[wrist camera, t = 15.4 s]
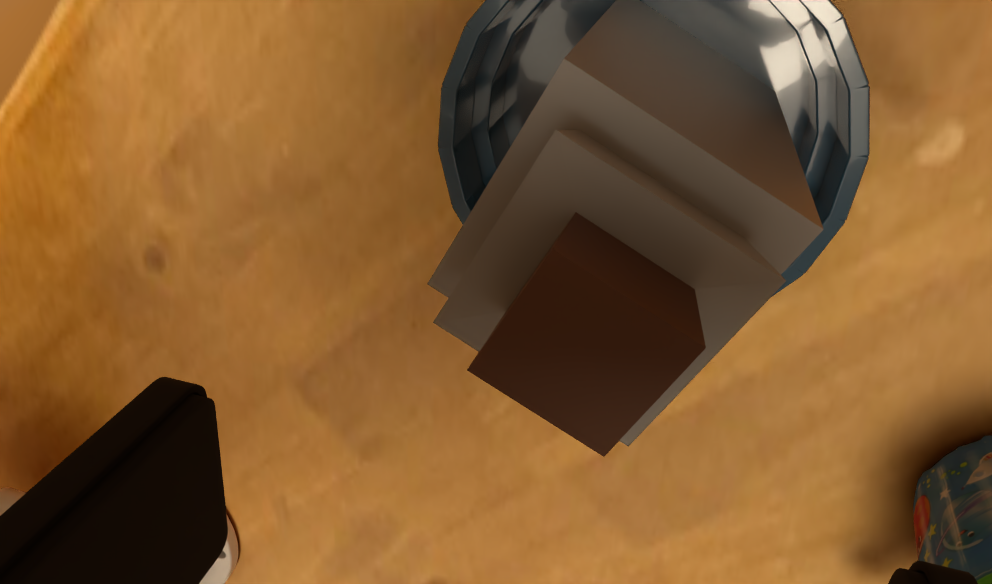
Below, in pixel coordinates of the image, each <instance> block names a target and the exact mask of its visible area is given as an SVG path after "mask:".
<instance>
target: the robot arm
mask: <svg viewBox="0 0 992 584" xmlns="http://www.w3.org/2000/svg"><path fill="white" fill-rule="evenodd" d="M237 560H238V542H237V538H236V534H235V531H234V528H233V526H232V524H231V522H230V520H229V518H228V516H227V514H226V506H225V496H224V486H223V477H222V467H221V458H220V448H219V438H218V429H217V419H216V410H215V404H214V401H213V400H212V399H210V398H207V394H206V391H205V389H204V388H203V387H202V386H200V385H197V384H193V383H189V382H185V381H180V380H176V379H172V378H168V377H161V378H159V379H157V380H155V381H154V382H153V383H152V384H150V385H149V386H148V387H147V388H146V389H145V390H144V391H142V392H141V393H140V394H139V395H138V396H137V397H136V398H134V399H133V400H132V401H131V402H130V403H129V404H127V405H126V406H125V407H124V408H123V409H122V410H121V411H119V412H118V413H117V414H116V415H115V416H114V417H113V418H111V419H110V420H109V421H108V422H107V423H106V424H105V425H103V426H102V427H101V428H100V429H99V430H98V431H97V432H95V433H94V434H93V435H92V436H91V437H90V438H89V439H87V440H86V441H85V442H84V443H83V444H82V445H81V446H79V447H78V448H77V449H76V450H75V451H74V452H73V453H71V454H70V455H69V456H68V457H67V458H66V459H65V460H63V461H62V462H61V463H60V464H59V465H58V466H57V467H55V468H54V469H53V470H52V471H51V472H50V473H48V474H47V475H46V476H45V477H44V478H43V479H42V480H40V481H39V482H38V483H37V484H36V485H35V486H34V487H32V488H31V489H30V490H29V491H28V492H23V491H20V490H16V489H13V488H9V487H5V488H1V489H0V584H224V583H225V582H226V581H227V580H228V578H229V577H230V575H231V574H232V572H233V570H234V569H235V567H236V564H237ZM888 584H978V583H977V581H976V579H975V577H974V576H973V575H971V574H970V573H969V572H965V571H961V570H957V569H953V568H949V567H945V566H941V565H937V564H932V563H928V562H924V561H916V562H915V563H913V564H912V566H911V567H910V568H909V570H907V569H902V568H899V569H897V570H896V571H895V572H894V574H893V575H892V577H891V579H890V581H889V583H888Z"/></svg>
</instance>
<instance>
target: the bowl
mask: <svg viewBox="0 0 992 584" xmlns="http://www.w3.org/2000/svg"><path fill="white" fill-rule="evenodd" d="M615 1H616V0H485V1H484V2H483V4H482V5H481V6H480V7H479V8H478V10H477V11H476V12H475V13H474V15H473V16H472V17H471V18H470V19H469V21H468V22H467V23H466V26H465V27H464V29H463V32H462V34H461V37H460V40H459V42H458V45H457V47H456V50H455V52H454V55H453V58H452V60H451V63H450V65H449V68H448V70H447V73H446V76H445V78H444V81H443V83H442V88H441V103H440V119H439V135H438V151H439V155H440V159H441V163H442V167H443V171H444V175H445V179H446V183H447V187H448V191H449V196H450V200H451V204H452V205H453V206H452V207H453V209H454V211H455V212H456V214H457V216H458V217H459V219H460V221H461V222H462V224H464V223H465V221H466V219H467V218H468V216H469V214H470V213H471V211H472V209H473V208H474V206H475V205H476V203H477V201H478V200H479V198H480V196H481V195H482V193H483V191H484V190H485V188H486V186H487V185H488V183H489V181H490V180H491V178H492V176H493V175H494V173H495V172H496V170H497V168H498V167H499V165H500V163H501V162H502V160H503V158H504V157H505V155H506V153H507V152H508V150H509V148H510V147H511V145H512V143H513V142H514V140H515V139H516V137H517V135H518V134H519V132H520V130H521V129H522V127H523V125H524V124H525V122H526V120H527V119H528V117H529V115H530V114H531V112H532V111H533V109H534V107H535V106H536V104H537V102H538V101H539V99H540V97H541V96H542V94H543V92H544V91H545V89H546V87H547V86H548V84H549V82H550V81H551V79H552V78H553V76H554V74H555V73H556V71H557V69H558V68H559V66H560V64H561V63H562V61H563V59H564V58H565V57H566V56H567V55H568V53H569V52H570V51H571V50H572V49H573V48H574V47H575V46H576V45H577V43H578V42H579V41H580V40H581V39H582V38H583V37H584V36H585V34H586V33H587V32H588V31H589V30H590V29H591V28H592V27H593V26H594V24H595V23H596V22H597V21H598V20H599V19H600V18H601V17H602V15H603V14H604V13H605V12H606V11H607V10H608V9H609V8H610V7H611V5H612V4H613V3H614V2H615ZM639 1H641V2H642V3H644V4H645V5H647V6H648V7H650V8H651V9H653V10H654V11H656V12H657V13H659V14H660V15H662V16H663V17H665V18H666V19H668V20H669V21H671V22H672V23H674V24H675V25H677V26H678V27H680V28H681V29H683V30H684V31H686V32H687V33H689V34H690V35H692V36H693V37H695V38H696V39H698V40H699V41H701V42H702V43H704V44H705V45H707V46H708V47H710V48H711V49H713V50H714V51H716V52H717V53H719V54H720V55H722V56H723V57H725V58H726V59H728V60H729V61H731V62H732V63H734V64H735V65H737V66H738V67H740V68H741V69H743V70H744V71H746V72H747V73H749V74H750V75H752V76H753V77H755V78H756V79H758V80H759V81H761V82H762V83H764V84H765V85H767V86H768V87H770V88H771V89H773V90H774V91H775V92H776V95H777V98H778V101H779V104H780V107H781V109H782V112H783V115H784V118H785V121H786V124H787V126H788V129H789V132H790V135H791V138H792V141H793V144H794V146H795V149H796V152H797V155H798V158H799V161H800V164H801V166H802V169H803V172H804V175H805V178H806V181H807V183H808V186H809V189H810V192H811V195H812V198H813V201H814V203H815V206H816V209H817V212H818V215H819V218H820V220H821V223H822V226H823V229H824V230H823V231H822V232H821V233H820V234H819V235H818V236H817V237H816V238H815V239H814V240H813V241H812V242H811V243H810V245H809V246H808V247H807V248H806V249H805V250H804V251H803V252H802V253H801V254H800V255H799V256H798V257H797V258H796V259H795V260H794V261H793V263H792V264H791V265H790V266H789V267H788V268H787V269H786V270H785V271H784V272H783V273H782V274H781V276H782V277H783V278H784V279H785V280H786V282H785V283H784V284H783V285H782V286H781V287H780V288H779V289H778V290H777V291H776V292H775V293H774V294H773V295H775V294H776V293H778V292H779V291H781V290H782V289H783V288H785V287H786V286H788V285H789V284H791V283H792V282H794V281H795V280H796V279H798V278H799V277H801V276H802V275H803V274H804V273H806V271H807V270H808V269H809V268H810V266H811V265H812V264H813V262H814V261H815V260H816V259H817V257H818V256H819V255H820V254H821V252H822V251H823V250H824V248H825V247H826V246H827V245H828V243H829V242H830V241H831V240H832V238H833V237H834V236H835V234H836V233H837V232H838V231H839V229H840V228H841V227H842V226H843V224H844V223H845V220H846V219H847V217H848V214H849V211H850V208H851V206H852V203H853V200H854V197H855V195H856V192H857V189H858V186H859V184H860V181H861V178H862V175H863V172H864V170H865V167H866V164H867V161H868V159H869V157H868V156H869V138H870V87H869V81H868V79H867V76H866V73H865V71H864V68H863V65H862V63H861V60H860V57H859V55H858V52H857V49H856V47H855V44H854V41H853V38H852V36H851V33H850V30H849V28H848V25H847V22H846V20H845V18H844V17H843V14H842V13H841V12H840V11H839V9H838V8H837V7H836V6H835V5H834V4H833V3H832V2H831V0H639ZM773 295H772V296H773ZM772 296H771V297H772ZM771 297H770V298H771Z"/></svg>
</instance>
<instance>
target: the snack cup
mask: <svg viewBox="0 0 992 584" xmlns="http://www.w3.org/2000/svg"><path fill="white" fill-rule="evenodd" d="M913 513H914V530H915V539H916V548H917V555H918V560H919V561H924V562H928V563H932V564H937V565H941V566H945V567H949V568H953V569H957V570H961V571H965V572H969V573H970V574H971V575H973V576H974V577H975V579H976V581H977V583H978V584H992V435H989V436H984V437H983V438H982V439H981V440H979V441H977V442H973V443H970V444H967V445H965V446H959V447H958V448H957V449H956V450H954V451H953V452H951V453H949V454H947V455H946V456H944V457H943V458H942V459H941V460H940V461H939V462H938V463H936V464H935V465H934V466H933V467H932V468H931V469H929V470H927V471H925V472H923V474H922V476H921V477H920V478H919V480H918V483H917V487H916V491H915V498H914V504H913Z"/></svg>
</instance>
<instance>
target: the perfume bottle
mask: <svg viewBox="0 0 992 584" xmlns="http://www.w3.org/2000/svg"><path fill="white" fill-rule="evenodd" d="M823 230H824V229H823V226H822V223H821V220H820V218H819V215H818V212H817V209H816V206H815V203H814V201H813V198H812V195H811V192H810V189H809V186H808V183H807V181H806V178H805V175H804V172H803V169H802V166H801V164H800V161H799V158H798V155H797V152H796V149H795V146H794V144H793V141H792V138H791V135H790V132H789V129H788V126H787V124H786V121H785V118H784V115H783V112H782V109H781V107H780V104H779V101H778V98H777V95H776V92H775V91H774V90H773V89H771V88H770V87H768V86H767V85H765V84H764V83H762V82H761V81H759V80H758V79H756V78H755V77H753V76H752V75H750V74H749V73H747V72H746V71H744V70H743V69H741V68H740V67H738V66H737V65H735V64H734V63H732V62H731V61H729V60H728V59H726V58H725V57H723V56H722V55H720V54H719V53H717V52H716V51H714V50H713V49H711V48H710V47H708V46H707V45H705V44H704V43H702V42H701V41H699V40H698V39H696V38H695V37H693V36H692V35H690V34H689V33H687V32H686V31H684V30H683V29H681V28H680V27H678V26H677V25H675V24H674V23H672V22H671V21H669V20H668V19H666V18H665V17H663V16H662V15H660V14H659V13H657V12H656V11H654V10H653V9H651V8H650V7H648V6H647V5H645V4H644V3H642V2H641V1H639V0H616V1H615V2H614V3H613V4H612V5H611V7H610V8H609V9H608V10H607V11H606V12H605V13H604V14H603V15H602V17H601V18H600V19H599V20H598V21H597V22H596V23H595V24H594V26H593V27H592V28H591V29H590V30H589V31H588V32H587V33H586V34H585V36H584V37H583V38H582V39H581V40H580V41H579V42H578V43H577V45H576V46H575V47H574V48H573V49H572V50H571V51H570V52H569V53H568V55H567V56H566V57H565V58H564V59H563V61H562V63H561V64H560V66H559V68H558V69H557V71H556V73H555V74H554V76H553V78H552V79H551V81H550V82H549V84H548V86H547V87H546V89H545V91H544V92H543V94H542V96H541V97H540V99H539V101H538V102H537V104H536V106H535V107H534V109H533V111H532V112H531V114H530V115H529V117H528V119H527V120H526V122H525V124H524V125H523V127H522V129H521V130H520V132H519V134H518V135H517V137H516V139H515V140H514V142H513V143H512V145H511V147H510V148H509V150H508V152H507V153H506V155H505V157H504V158H503V160H502V162H501V163H500V165H499V167H498V168H497V170H496V172H495V173H494V175H493V176H492V178H491V180H490V181H489V183H488V185H487V186H486V188H485V190H484V191H483V193H482V195H481V196H480V198H479V200H478V201H477V203H476V205H475V206H474V208H473V209H472V211H471V213H470V214H469V216H468V218H467V219H466V221H465V223H464V224H463V226H462V228H461V229H460V231H459V233H458V234H457V236H456V237H455V239H454V241H453V242H452V244H451V246H450V247H449V249H448V251H447V252H446V254H445V256H444V257H443V259H442V261H441V262H440V264H439V266H438V267H437V269H436V270H435V272H434V274H433V275H432V277H431V279H430V280H429V282H428V285H430V286H431V287H433V288H434V289H436V290H437V291H439V292H441V293H442V294H444V295H445V296H447V297H448V300H447V301H446V303H445V305H444V306H443V308H442V309H441V311H440V312H439V314H438V316H437V317H436V319H435V320H434V322H433V323H435V324H436V325H438V326H439V327H441V328H442V329H444V330H446V331H447V332H449V333H450V334H452V335H454V336H455V337H457V338H458V339H460V340H461V341H463V342H465V343H466V344H468V345H469V346H471V347H472V348H474V349H476V350H477V351H479V353H478V354H477V356H476V357H475V359H474V360H473V362H472V363H471V365H470V366H469V368H468V369H467V371H469V372H471V373H472V374H474V375H475V376H477V377H479V378H480V379H482V380H483V381H485V382H486V383H488V384H490V385H491V386H493V387H494V388H496V389H498V390H499V391H501V392H502V393H504V394H505V395H507V396H509V397H510V398H512V399H513V400H515V401H517V402H518V403H520V404H521V405H523V406H524V407H526V408H528V409H529V410H531V411H532V412H534V413H536V414H537V415H539V416H540V417H542V418H543V419H545V420H547V421H548V422H550V423H551V424H553V425H554V426H556V427H558V428H559V429H561V430H562V431H564V432H566V433H567V434H569V435H570V436H572V437H573V438H575V439H577V440H578V441H580V442H581V443H583V444H585V445H586V446H588V447H589V448H591V449H592V450H594V451H596V452H597V453H599V454H600V455H602V456H605V455H606V454H607V453H608V452H609V451H610V450H611V449H612V448H613V447H614V446H615V445H616V443H617V442H618V441H621V442H622V443H624V444H625V445H627V446H629V445H630V444H631V443H632V442H633V441H634V440H635V439H636V438H637V437H638V436H639V435H640V434H641V433H642V432H643V431H644V430H645V428H646V427H647V426H648V425H649V424H650V423H651V422H652V421H653V420H654V419H655V418H656V417H657V416H658V415H659V414H660V413H661V412H662V411H663V410H664V409H665V408H666V406H667V405H668V404H669V403H670V402H671V401H672V400H673V399H674V398H675V397H676V396H677V395H678V394H679V393H680V392H681V391H682V390H683V389H684V388H685V387H686V385H687V384H688V383H689V382H690V381H691V380H692V379H693V378H694V377H695V376H696V375H697V374H698V373H699V372H700V371H701V370H702V369H703V368H704V367H705V366H706V365H707V363H708V362H709V361H710V360H711V359H712V358H713V357H714V356H715V355H716V354H717V353H718V352H719V351H720V350H721V349H722V348H723V347H724V346H725V345H726V344H727V343H728V341H729V340H730V339H731V338H732V337H733V336H734V335H735V334H736V333H737V332H738V331H739V330H740V329H741V328H742V327H743V326H744V325H745V324H746V323H747V322H748V320H749V319H750V318H751V317H752V316H753V315H754V314H755V313H756V312H757V311H758V310H759V309H760V308H761V307H762V306H763V305H764V304H765V303H766V302H767V301H768V300H769V298H770V297H771V296H772V295H773V294H774V293H775V292H776V291H777V290H778V289H779V288H780V287H781V286H782V285H783V284H784V283H785V282H786V280H785V279H784V278H783V277H782V276H781V274H782V273H783V272H784V271H785V270H786V269H787V268H788V267H789V266H790V265H791V264H792V263H793V261H794V260H795V259H796V258H797V257H798V256H799V255H800V254H801V253H802V252H803V251H804V250H805V249H806V248H807V247H808V246H809V245H810V243H811V242H812V241H813V240H814V239H815V238H816V237H817V236H818V235H819V234H820V233H821V232H822V231H823Z"/></svg>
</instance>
